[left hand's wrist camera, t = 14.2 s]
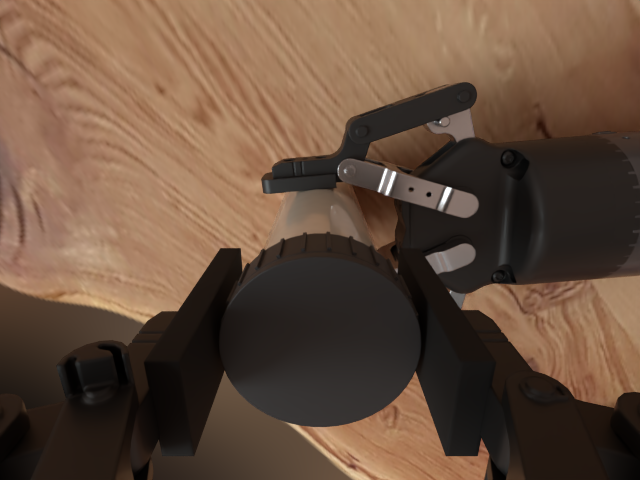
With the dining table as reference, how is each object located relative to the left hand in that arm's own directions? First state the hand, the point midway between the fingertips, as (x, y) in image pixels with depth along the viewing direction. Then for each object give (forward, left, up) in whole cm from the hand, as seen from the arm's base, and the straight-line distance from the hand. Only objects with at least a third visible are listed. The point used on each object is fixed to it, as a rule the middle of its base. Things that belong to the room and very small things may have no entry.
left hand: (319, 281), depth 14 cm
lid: (0, 0, +4) cm, 4 cm away
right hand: (+2, -2, -6) cm, 7 cm away
